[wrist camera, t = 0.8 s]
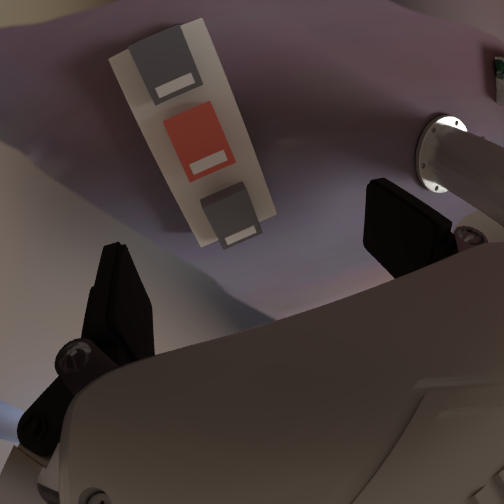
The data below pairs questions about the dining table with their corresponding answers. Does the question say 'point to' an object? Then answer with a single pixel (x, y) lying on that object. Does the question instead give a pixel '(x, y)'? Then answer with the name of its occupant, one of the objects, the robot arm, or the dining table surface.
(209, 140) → the red rocker
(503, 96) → the juice carton
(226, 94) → the rocker switch panel
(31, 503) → the robot arm
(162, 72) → the charcoal rocker
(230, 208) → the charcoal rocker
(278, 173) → the dining table surface
